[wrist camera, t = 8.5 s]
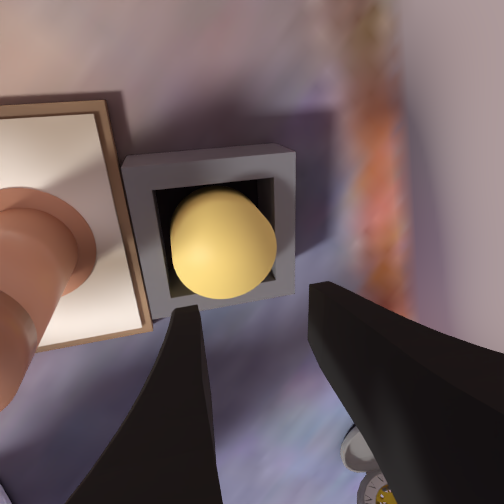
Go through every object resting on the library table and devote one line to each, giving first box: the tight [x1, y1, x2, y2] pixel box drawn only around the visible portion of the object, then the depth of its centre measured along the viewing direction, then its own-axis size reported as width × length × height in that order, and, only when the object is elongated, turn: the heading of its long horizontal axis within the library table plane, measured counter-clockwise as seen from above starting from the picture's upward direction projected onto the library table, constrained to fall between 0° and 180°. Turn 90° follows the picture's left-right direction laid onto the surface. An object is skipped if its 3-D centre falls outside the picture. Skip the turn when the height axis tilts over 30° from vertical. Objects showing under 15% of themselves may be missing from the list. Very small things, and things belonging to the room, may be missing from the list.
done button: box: [170, 185, 277, 299], centre depth 16 cm, size 4×4×3 cm
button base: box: [121, 143, 296, 319], centre depth 17 cm, size 7×7×3 cm
